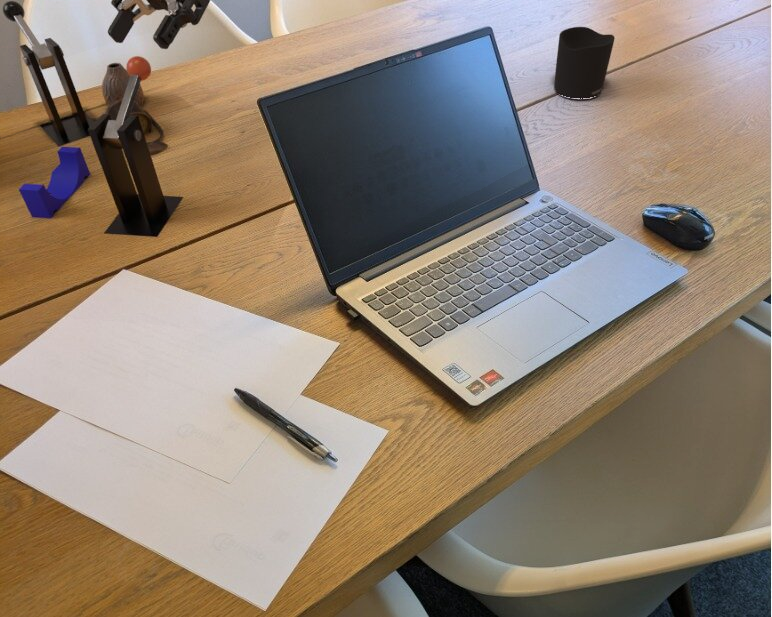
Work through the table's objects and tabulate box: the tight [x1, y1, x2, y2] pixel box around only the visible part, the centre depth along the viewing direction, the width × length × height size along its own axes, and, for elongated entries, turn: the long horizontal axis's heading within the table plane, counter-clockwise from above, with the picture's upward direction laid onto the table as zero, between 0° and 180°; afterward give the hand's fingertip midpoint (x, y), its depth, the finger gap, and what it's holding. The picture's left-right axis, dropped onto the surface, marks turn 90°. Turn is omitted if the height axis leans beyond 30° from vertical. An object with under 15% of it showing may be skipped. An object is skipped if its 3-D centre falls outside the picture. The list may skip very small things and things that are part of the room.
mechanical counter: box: [104, 98, 168, 156], centre depth 110 cm, size 7×13×10 cm
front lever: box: [103, 55, 152, 150], centre depth 89 cm, size 14×3×3 cm, turn 171°
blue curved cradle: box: [18, 146, 91, 219], centre depth 99 cm, size 12×4×6 cm, turn 171°
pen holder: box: [553, 26, 616, 99], centre depth 119 cm, size 9×9×10 cm
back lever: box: [2, 0, 55, 71], centre depth 108 cm, size 14×3×3 cm, turn 38°
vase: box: [101, 62, 145, 108], centre depth 120 cm, size 7×7×9 cm
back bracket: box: [19, 37, 95, 148], centre depth 111 cm, size 10×8×16 cm
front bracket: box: [88, 113, 184, 238], centre depth 91 cm, size 10×8×16 cm
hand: (136, 41), depth 86 cm, fingers open, 8 cm apart
